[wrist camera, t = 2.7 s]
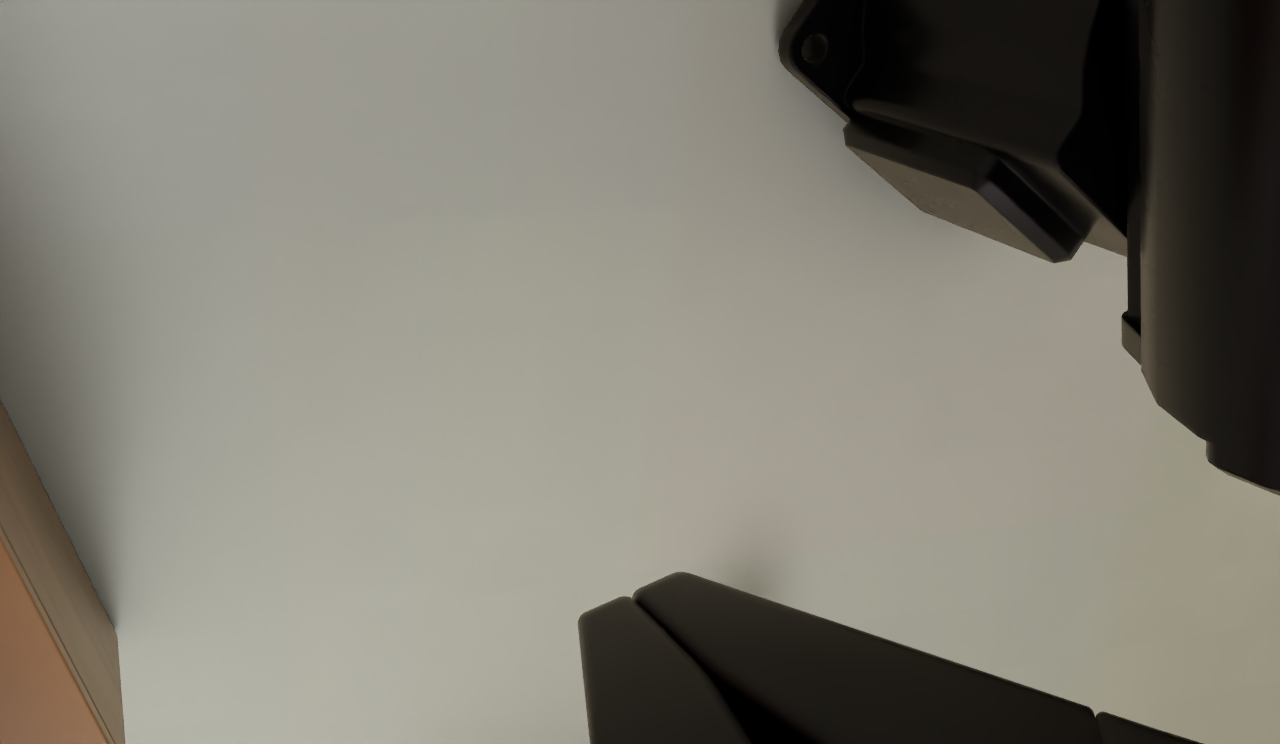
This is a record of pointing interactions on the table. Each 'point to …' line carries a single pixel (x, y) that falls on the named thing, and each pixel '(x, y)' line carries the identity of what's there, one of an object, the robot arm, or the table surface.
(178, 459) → the table surface
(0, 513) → the stand
